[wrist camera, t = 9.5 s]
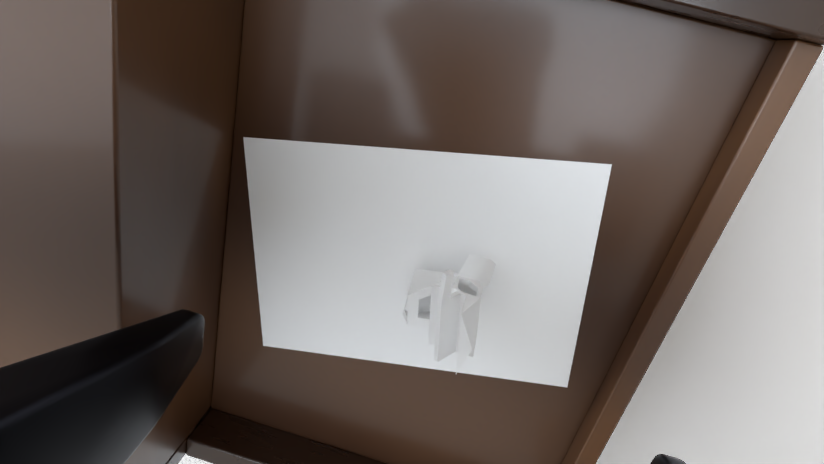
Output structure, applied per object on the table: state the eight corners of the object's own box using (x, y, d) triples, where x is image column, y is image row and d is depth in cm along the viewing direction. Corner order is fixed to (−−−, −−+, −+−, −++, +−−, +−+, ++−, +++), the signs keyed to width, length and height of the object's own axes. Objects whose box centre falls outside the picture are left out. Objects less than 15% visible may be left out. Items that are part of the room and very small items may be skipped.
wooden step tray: (538, 463, 20) (567, 761, 12) (119, 333, 21) (-122, 521, 13) (754, 13, 13) (1202, -33, 5) (111, -145, 14) (-427, -402, 6)
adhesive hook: (488, 326, 14) (485, 397, 12) (403, 316, 15) (381, 382, 12) (499, 234, 13) (499, 287, 10) (407, 225, 14) (383, 274, 11)
